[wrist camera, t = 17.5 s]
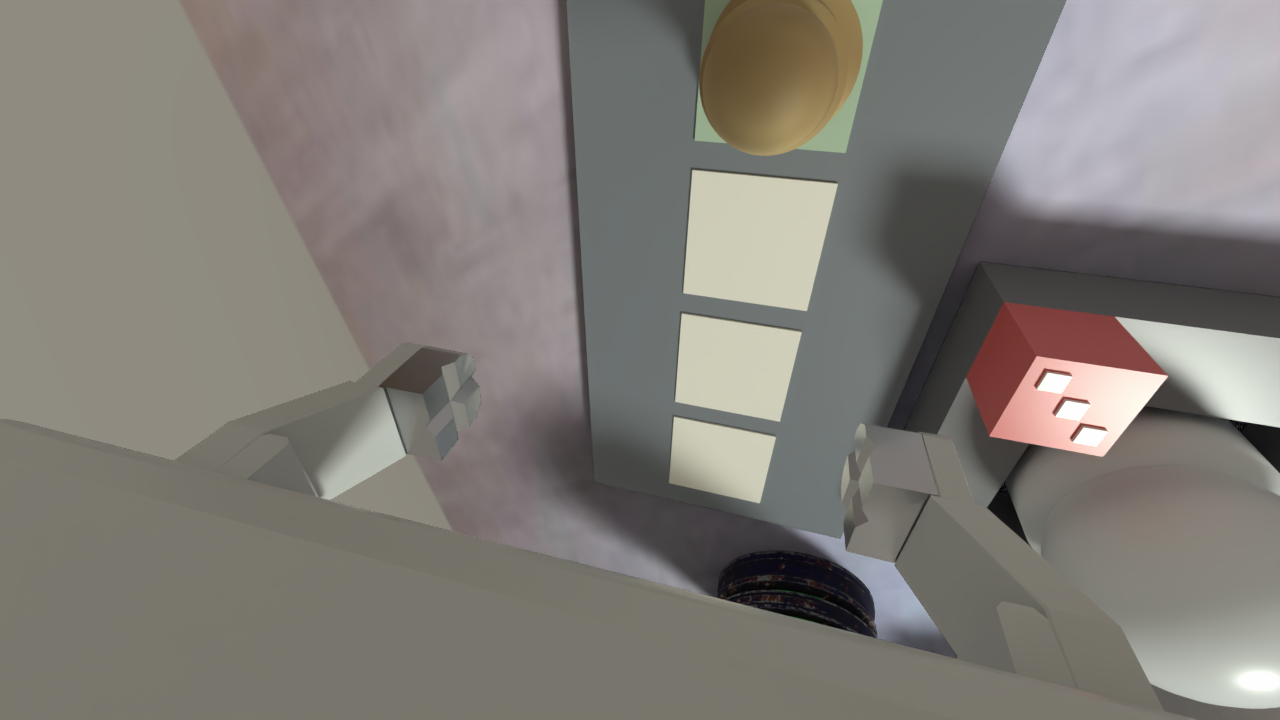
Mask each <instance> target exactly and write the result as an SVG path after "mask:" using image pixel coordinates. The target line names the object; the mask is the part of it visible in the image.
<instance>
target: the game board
mask: <svg viewBox="0 0 1280 720" xmlns="http://www.w3.org/2000/svg"><path fill="white" fill-rule="evenodd" d="M730 1H731V0H566V4H567V21H568V38H569V56H570V73H571V90H572V108H573V125H574V142H575V159H576V177H577V194H578V211H579V228H580V246H581V263H582V280H583V298H584V315H585V332H586V349H587V367H588V384H589V401H590V418H591V436H592V453H593V470H594V482H597V483H601V484H605V485H610V486H614V487H618V488H623V489H627V490H631V491H636V492H640V493H644V494H649V495H653V496H657V497H662V498H666V499H670V500H675V501H679V502H683V503H688V504H692V505H696V506H701V507H705V508H709V509H714V510H718V511H722V512H727V513H731V514H735V515H740V516H744V517H748V518H753V519H757V520H761V521H766V522H770V523H775V524H779V525H783V526H788V527H792V528H796V529H801V530H805V531H809V532H814V533H818V534H822V535H827V536H831V537H835V538H841V536H842V534H843V531H844V524H843V521H844V518H845V515H846V513H847V510H848V509H847V508H846V507H845V506H844V505H843V503H842V499H841V481H842V475H843V469H844V466H845V462H846V459H847V456H848V455H849V454H851V453H852V452H854V451H855V445H854V436H855V433H856V431H857V428H858V427H859V425H860V424H861V423H865V424H871V425H877V426H883V427H887V426H888V424H889V422H890V419H891V417H892V414H893V412H894V410H895V407H896V405H897V403H898V400H899V398H900V395H901V393H902V391H903V388H904V386H905V383H906V381H907V379H908V376H909V374H910V372H911V369H912V367H913V364H914V362H915V360H916V357H917V355H918V353H919V350H920V348H921V345H922V343H923V341H924V338H925V336H926V333H927V331H928V329H929V326H930V324H931V322H932V319H933V317H934V314H935V312H936V310H937V307H938V305H939V303H940V300H941V298H942V295H943V293H944V291H945V288H946V286H947V283H948V281H949V279H950V276H951V274H952V272H953V269H954V267H955V264H956V262H957V260H958V257H959V255H960V253H961V250H962V248H963V245H964V243H965V241H966V238H967V236H968V233H969V231H970V229H971V226H972V224H973V222H974V219H975V217H976V214H977V212H978V210H979V207H980V205H981V202H982V200H983V198H984V195H985V193H986V191H987V188H988V186H989V183H990V181H991V179H992V176H993V174H994V172H995V169H996V167H997V164H998V162H999V160H1000V157H1001V155H1002V152H1003V150H1004V148H1005V145H1006V143H1007V141H1008V138H1009V136H1010V133H1011V131H1012V129H1013V126H1014V124H1015V122H1016V119H1017V117H1018V114H1019V112H1020V110H1021V107H1022V105H1023V102H1024V100H1025V98H1026V95H1027V93H1028V91H1029V88H1030V86H1031V83H1032V81H1033V79H1034V76H1035V74H1036V72H1037V69H1038V67H1039V64H1040V62H1041V60H1042V57H1043V55H1044V52H1045V50H1046V48H1047V45H1048V43H1049V41H1050V38H1051V36H1052V33H1053V31H1054V29H1055V26H1056V24H1057V22H1058V19H1059V17H1060V14H1061V12H1062V10H1063V7H1064V5H1065V2H1066V0H851V1H852V3H853V5H854V7H855V9H856V11H857V14H858V17H859V20H860V24H861V30H862V38H863V51H862V60H861V66H860V70H859V74H858V77H857V80H856V82H855V85H854V87H853V89H852V92H851V93H850V95H849V97H848V98H847V100H846V102H845V103H844V105H843V106H842V107H841V109H840V110H839V111H838V112H837V113H836V115H835V116H834V117H833V118H832V119H831V120H830V121H829V122H828V123H827V124H826V126H825V127H824V128H823V129H822V130H821V131H820V132H819V133H818V134H817V135H816V136H814V137H813V138H812V139H811V140H809V141H808V142H807V143H805V144H804V145H802V146H800V147H798V148H796V149H794V150H791V151H789V152H786V153H782V154H778V155H769V156H761V155H753V154H748V153H745V152H742V151H740V150H738V149H736V148H734V147H732V146H731V145H729V144H728V143H726V142H725V141H724V140H723V139H722V138H721V137H720V136H719V135H718V134H717V133H716V132H715V131H714V129H713V128H712V126H711V125H710V123H709V121H708V119H707V117H706V115H705V113H704V110H703V107H702V103H701V98H700V90H699V74H700V68H701V62H702V59H703V55H704V52H705V49H706V47H707V44H708V42H709V40H710V37H711V34H712V31H713V29H714V26H715V24H716V22H717V20H718V18H719V16H720V15H721V13H722V12H723V10H724V9H725V7H726V6H727V4H728V3H729V2H730Z"/></svg>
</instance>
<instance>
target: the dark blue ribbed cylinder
mask: <svg viewBox="0 0 1280 720" xmlns="http://www.w3.org/2000/svg"><path fill="white" fill-rule="evenodd" d="M717 598H719V599H723V600H727V601H731V602H735V603H739V604H743V605H747V606H751V607H754V608H758V609H762V610H766V611H770V612H774V613H778V614H782V615H786V616H790V617H794V618H798V619H802V620H806V621H810V622H814V623H818V624H822V625H826V626H830V627H834V628H838V629H841V630H845V631H849V632H853V633H857V634H861V635H865V636H869V637H873V638H877V631H876V626H875V623H874V618H875V609H874V602H873V598H872V596H871V594H870V591H869V590H868V589H867V587H866V586H865V585H864V583H862V582H861V581H860V580H859V579H858V578H857V577H856V576H854V575H853V574H852V573H850V572H849V571H847V570H846V569H844V568H842V567H840V566H838V565H836V564H834V563H832V562H829V561H827V560H824V559H821V558H818V557H815V556H811V555H807V554H802V553H797V552H788V551H763V552H756V553H751V554H747V555H744V556H741V557H739V558H737V559H735V560H733V561H731V562H730V563H729V564H728V565H727V566H726V567H725V568H724V569H723V570H722V572H721V574H720V577H719V582H718V596H717Z"/></svg>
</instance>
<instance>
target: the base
mask: <svg viewBox="0 0 1280 720" xmlns="http://www.w3.org/2000/svg"><path fill="white" fill-rule="evenodd" d="M1144 406H1149V407H1155V408H1161V409H1168V410H1174V411H1180V412H1186V413H1192V414H1199V415H1205V416H1211V417H1217V418H1224V419H1230V420H1236V421H1242V422H1248V424H1247V425H1246V426H1245V427H1244V428H1243V429H1242V430H1241V431H1240V432H1241V433H1242V434H1243V436H1244V437H1245V438H1246V439H1247V440H1248V441H1249V442H1250V443H1251V444H1252V445H1253V446H1254V447H1255V448H1256V449H1257V450H1258V451H1259V452H1260V453H1261V454H1262V455H1263V456H1264V457H1265V459H1266V460H1267V461H1268V462H1269V463H1270V464H1271V465H1272V466H1273V467H1274V468H1275V469H1276V470H1277V471H1278V472H1279V473H1280V297H1274V296H1265V295H1257V294H1248V293H1240V292H1231V291H1223V290H1214V289H1206V288H1197V287H1189V286H1180V285H1172V284H1163V283H1155V282H1147V281H1138V280H1130V279H1121V278H1113V277H1104V276H1096V275H1087V274H1079V273H1070V272H1062V271H1053V270H1045V269H1036V268H1028V267H1020V266H1011V265H1003V264H994V263H986V262H979V264H978V267H977V269H976V271H975V273H974V276H973V278H972V280H971V282H970V284H969V287H968V289H967V291H966V293H965V296H964V298H963V300H962V302H961V304H960V307H959V309H958V311H957V313H956V316H955V318H954V320H953V322H952V325H951V327H950V329H949V331H948V333H947V336H946V338H945V340H944V342H943V345H942V347H941V349H940V351H939V353H938V356H937V358H936V360H935V362H934V365H933V367H932V369H931V371H930V373H929V376H928V378H927V380H926V382H925V385H924V387H923V389H922V391H921V393H920V396H919V398H918V400H917V402H916V405H915V407H914V409H913V411H912V414H911V416H910V418H909V420H908V422H907V425H906V427H905V429H904V430H907V431H912V432H924V433H930V434H937V435H944V436H948V437H949V438H950V439H951V440H952V441H953V444H954V447H955V450H956V452H957V455H958V458H959V461H960V463H961V466H962V469H963V472H964V475H965V477H966V480H967V483H968V486H969V488H970V491H971V494H972V497H973V499H974V502H975V504H978V505H983V506H985V507H986V508H987V509H988V510H990V511H991V512H992V513H993V514H994V515H995V516H996V517H997V518H999V519H1000V520H1001V521H1002V522H1003V523H1004V524H1005V525H1007V526H1008V527H1009V528H1010V529H1011V530H1012V531H1013V532H1014V533H1016V534H1017V535H1018V536H1019V537H1020V538H1021V539H1022V540H1024V541H1025V542H1026V543H1027V544H1028V545H1029V546H1030V544H1029V543H1028V541H1027V538H1026V536H1025V533H1024V531H1023V528H1022V525H1021V523H1020V520H1019V518H1018V515H1017V512H1016V510H1015V507H1014V505H1013V502H1012V500H1011V497H1010V494H1009V493H1005V492H1000V491H998V490H999V489H1000V487H1001V486H1002V484H1003V483H1004V481H1005V480H1006V478H1007V477H1008V475H1009V474H1010V472H1011V471H1012V469H1013V468H1014V466H1015V465H1016V463H1017V462H1018V460H1019V459H1020V457H1021V456H1022V454H1023V453H1024V451H1025V450H1026V448H1027V447H1028V445H1029V444H1035V445H1040V446H1046V447H1051V448H1057V449H1062V450H1068V451H1073V452H1079V453H1084V454H1090V455H1095V456H1101V457H1103V456H1104V455H1105V454H1106V453H1107V451H1108V450H1109V449H1110V448H1111V447H1112V445H1113V444H1114V443H1115V442H1116V440H1117V439H1118V438H1119V437H1120V435H1121V434H1122V433H1123V432H1124V430H1125V429H1126V428H1127V427H1128V425H1129V424H1130V423H1131V422H1132V421H1133V419H1134V418H1135V417H1136V416H1137V414H1138V413H1139V412H1140V411H1141V409H1142V408H1143V407H1144ZM1030 547H1031V546H1030ZM1031 548H1032V547H1031Z"/></svg>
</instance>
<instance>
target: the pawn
mask: <svg viewBox="0 0 1280 720" xmlns="http://www.w3.org/2000/svg"><path fill="white" fill-rule="evenodd" d="M862 51H863V38H862V30H861V24H860V20H859V17H858V14H857V11H856V9H855V7H854V5H853V3H852V1H851V0H731V1H730V2H729V3H728V4H727V6H726V7H725V9H724V10H723V12H722V13H721V15H720V16H719V18H718V20H717V22H716V24H715V26H714V29H713V31H712V34H711V37H710V40H709V42H708V44H707V47H706V49H705V52H704V55H703V59H702V62H701V68H700V74H699V90H700V98H701V103H702V107H703V110H704V113H705V115H706V117H707V119H708V121H709V123H710V125H711V126H712V128H713V129H714V131H715V132H716V133H717V134H718V135H719V136H720V137H721V138H722V139H723V140H724V141H725V142H726V143H728V144H729V145H731V146H732V147H734V148H736V149H738V150H740V151H742V152H745V153H748V154H753V155H761V156H769V155H778V154H782V153H786V152H789V151H791V150H794V149H796V148H798V147H800V146H802V145H804V144H805V143H807V142H808V141H809V140H811V139H812V138H813V137H814V136H816V135H817V134H818V133H819V132H820V131H821V130H822V129H823V128H824V127H825V126H826V124H827V123H828V122H829V121H830V120H831V119H832V118H833V117H834V116H835V115H836V113H837V112H838V111H839V110H840V109H841V107H842V106H843V105H844V103H845V102H846V100H847V98H848V97H849V95H850V93H851V92H852V89H853V87H854V85H855V82H856V80H857V77H858V74H859V70H860V66H861V60H862Z"/></svg>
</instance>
